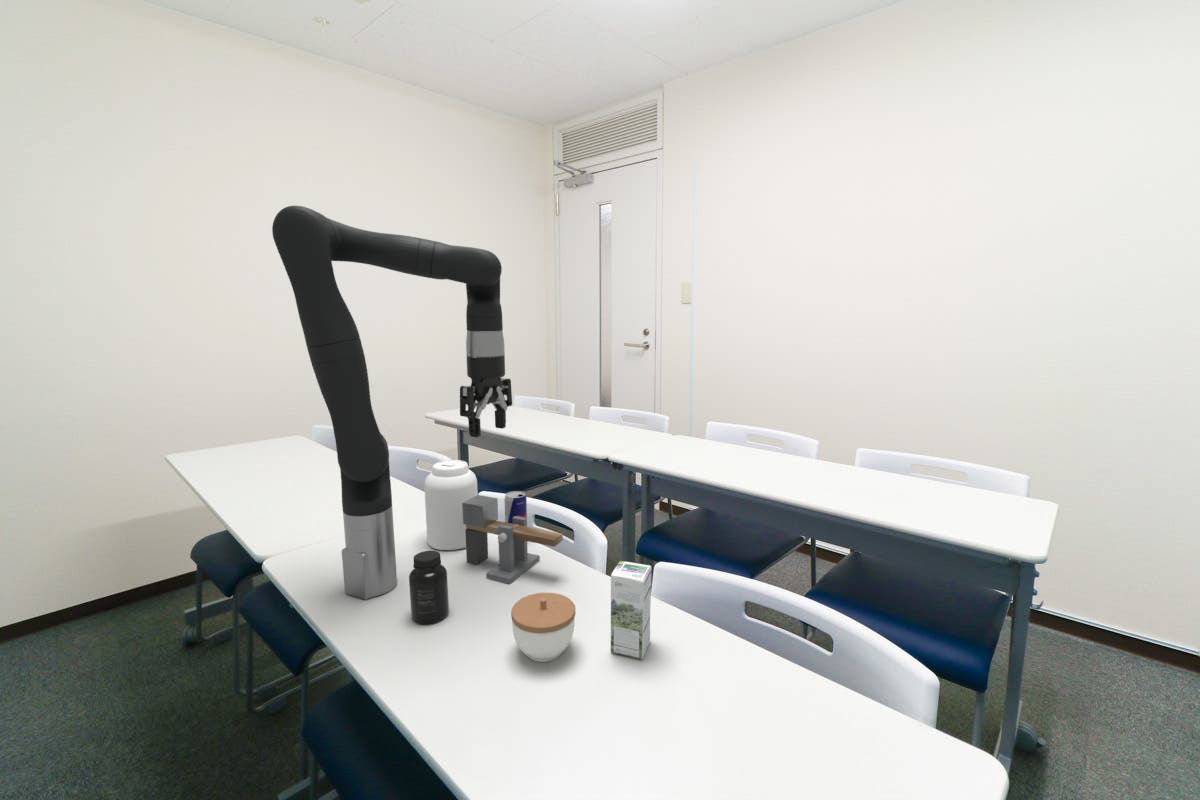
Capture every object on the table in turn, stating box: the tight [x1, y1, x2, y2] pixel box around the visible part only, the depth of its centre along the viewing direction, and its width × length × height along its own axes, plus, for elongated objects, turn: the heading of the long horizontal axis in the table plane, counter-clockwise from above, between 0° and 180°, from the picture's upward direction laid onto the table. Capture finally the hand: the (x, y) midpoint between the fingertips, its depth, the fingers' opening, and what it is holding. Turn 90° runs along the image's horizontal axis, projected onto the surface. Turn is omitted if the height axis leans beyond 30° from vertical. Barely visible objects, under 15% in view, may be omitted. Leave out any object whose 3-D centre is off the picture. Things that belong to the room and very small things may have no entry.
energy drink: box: [504, 490, 528, 524], centre depth 134 cm, size 5×5×12 cm
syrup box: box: [610, 560, 652, 660], centre depth 91 cm, size 6×6×14 cm
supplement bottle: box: [408, 549, 450, 625], centre depth 101 cm, size 7×7×12 cm
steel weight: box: [462, 494, 499, 528], centre depth 122 cm, size 6×6×5 cm
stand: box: [465, 516, 541, 585], centre depth 121 cm, size 12×14×11 cm
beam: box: [466, 520, 564, 547], centre depth 119 cm, size 4×23×2 cm, turn 65°
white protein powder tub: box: [423, 459, 479, 551], centre depth 133 cm, size 12×12×20 cm
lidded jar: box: [510, 592, 576, 663], centre depth 91 cm, size 11×11×9 cm
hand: (488, 432), depth 111 cm, fingers open, 8 cm apart
